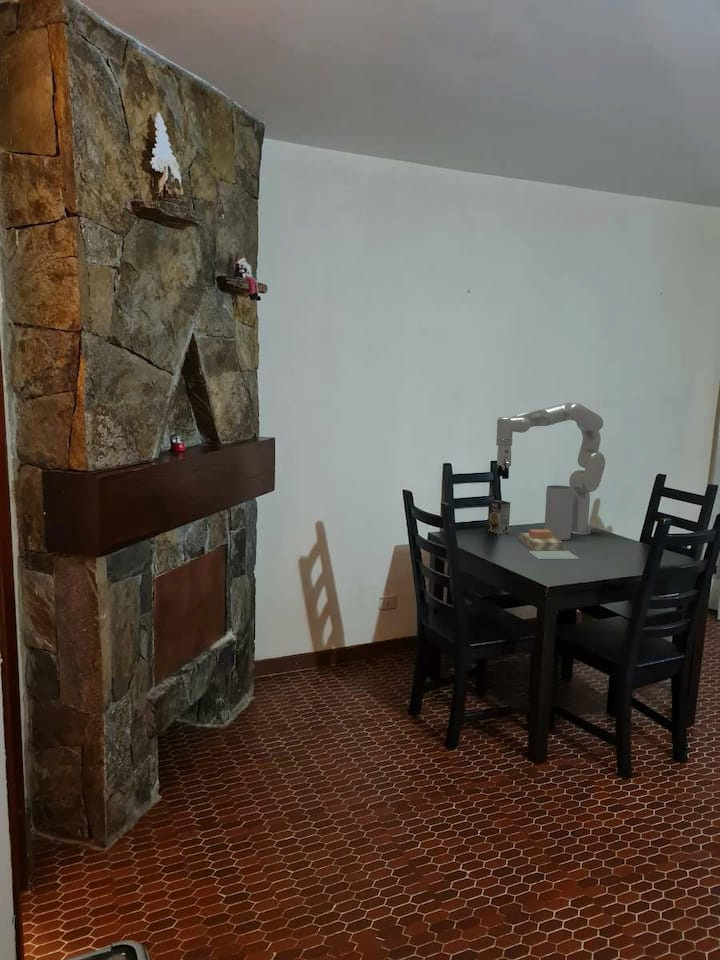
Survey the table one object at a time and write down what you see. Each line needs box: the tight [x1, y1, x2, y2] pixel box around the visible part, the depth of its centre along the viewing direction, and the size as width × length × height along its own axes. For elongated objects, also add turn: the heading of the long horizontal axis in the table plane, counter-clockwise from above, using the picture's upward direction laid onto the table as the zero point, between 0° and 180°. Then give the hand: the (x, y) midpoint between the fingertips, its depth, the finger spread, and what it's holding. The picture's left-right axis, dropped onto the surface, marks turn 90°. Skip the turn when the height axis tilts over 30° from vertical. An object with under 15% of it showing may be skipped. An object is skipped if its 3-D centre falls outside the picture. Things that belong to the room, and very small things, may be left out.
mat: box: [528, 550, 580, 560], centre depth 306 cm, size 18×14×1 cm
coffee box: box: [487, 499, 511, 535], centre depth 350 cm, size 9×6×16 cm
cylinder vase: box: [543, 484, 574, 541], centre depth 339 cm, size 12×12×25 cm
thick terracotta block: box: [528, 528, 552, 539], centre depth 323 cm, size 9×6×3 cm, turn 94°
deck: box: [519, 532, 564, 551], centre depth 323 cm, size 14×20×4 cm
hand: (502, 477), depth 342 cm, fingers open, 9 cm apart
